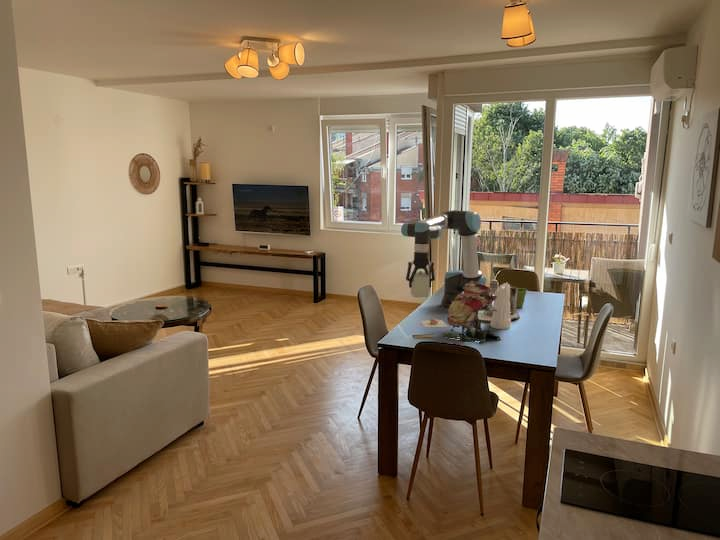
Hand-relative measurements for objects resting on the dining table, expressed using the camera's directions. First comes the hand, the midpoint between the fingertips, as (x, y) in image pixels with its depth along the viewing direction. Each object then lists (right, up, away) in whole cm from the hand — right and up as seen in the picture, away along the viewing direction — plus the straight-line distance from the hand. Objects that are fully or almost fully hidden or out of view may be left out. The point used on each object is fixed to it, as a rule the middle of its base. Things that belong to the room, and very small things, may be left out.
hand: (419, 293), depth 282 cm
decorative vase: (+47, -20, +15) cm, 53 cm away
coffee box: (+60, -14, +46) cm, 77 cm away
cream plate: (+10, -19, +16) cm, 26 cm away
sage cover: (0, -1, 0) cm, 1 cm away
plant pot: (+70, -12, +59) cm, 92 cm away
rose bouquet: (+25, -23, -5) cm, 34 cm away
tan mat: (+1, -22, 0) cm, 22 cm away
